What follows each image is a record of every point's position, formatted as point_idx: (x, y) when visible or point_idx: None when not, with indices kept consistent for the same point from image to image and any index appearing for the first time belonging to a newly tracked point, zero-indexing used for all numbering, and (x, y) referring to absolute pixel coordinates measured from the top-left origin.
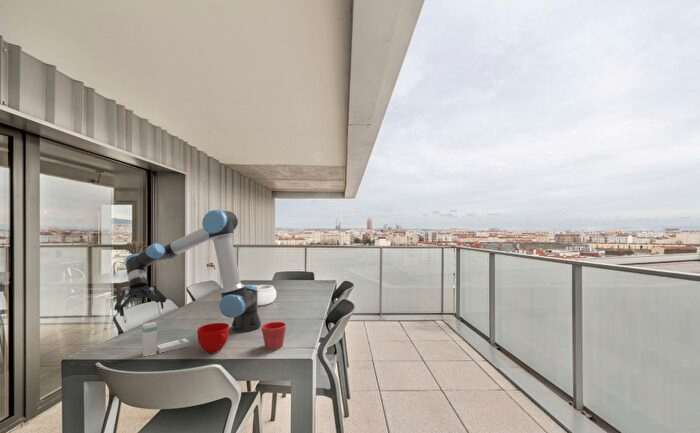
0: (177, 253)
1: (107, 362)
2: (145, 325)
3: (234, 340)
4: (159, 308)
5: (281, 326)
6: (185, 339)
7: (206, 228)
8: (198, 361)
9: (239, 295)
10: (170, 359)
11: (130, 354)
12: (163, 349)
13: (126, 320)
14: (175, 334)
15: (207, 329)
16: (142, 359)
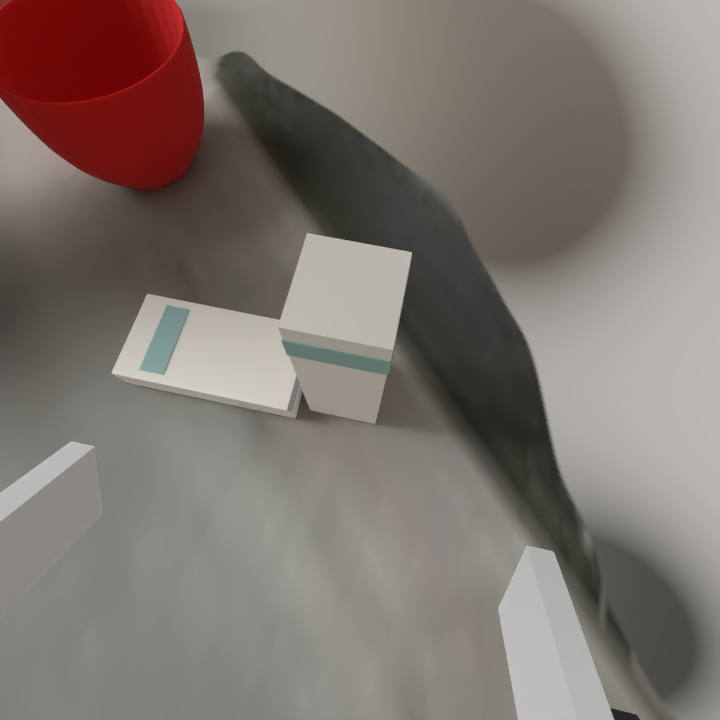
0: None
1: (548, 476)
2: (395, 271)
3: (4, 174)
4: (8, 525)
5: None
6: (128, 347)
7: None
8: (273, 116)
9: None
10: (324, 224)
11: (419, 490)
12: None
13: (520, 563)
14: (8, 651)
15: (67, 130)
16: (405, 341)
